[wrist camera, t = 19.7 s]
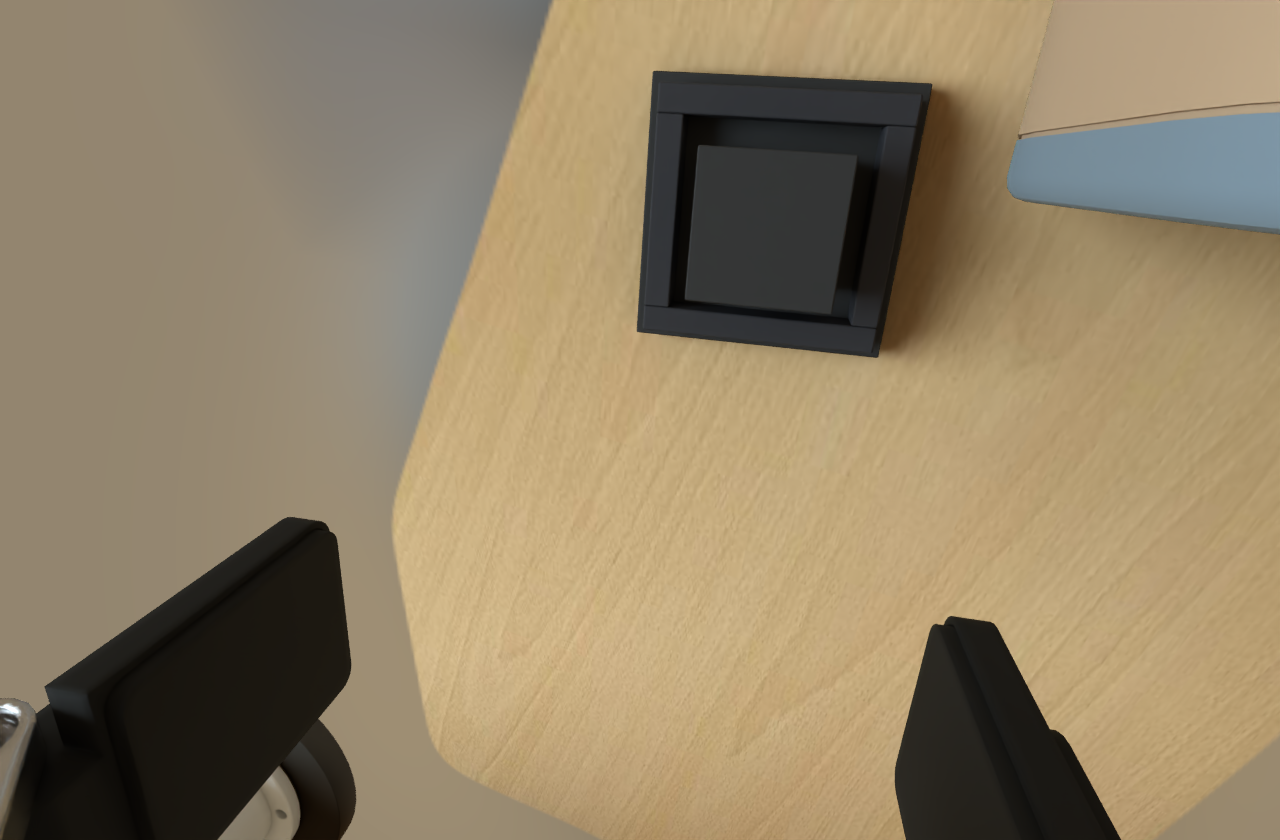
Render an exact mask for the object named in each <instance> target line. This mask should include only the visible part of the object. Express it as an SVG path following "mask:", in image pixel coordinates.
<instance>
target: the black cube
mask: <svg viewBox="0 0 1280 840" xmlns="http://www.w3.org/2000/svg"><path fill="white" fill-rule="evenodd" d="M857 162H858V155H853V154H837V153H821V152H805V151H789V150H773V149H757V148H741V147H725V146H709V145H699V146H698V153H697V164H696V176H695V187H694V199H693V210H692V221H691V233H690V244H689V256H688V267H687V279H686V290H685V300H691V301H701V302H711V303H721V304H731V305H741V306H751V307H762V308H772V309H782V310H792V311H802V312H812V313H822V314H831V313H832V310H833V304H834V298H835V292H836V286H837V280H838V275H839V269H840V263H841V257H842V251H843V245H844V239H845V233H846V227H847V221H848V215H849V210H850V204H851V198H852V192H853V186H854V180H855V174H856V168H857Z"/></svg>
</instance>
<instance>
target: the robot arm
mask: <svg viewBox="0 0 1280 840" xmlns="http://www.w3.org/2000/svg"><path fill="white" fill-rule="evenodd" d="M350 671H351V657H350V648H349V640H348V631H347V622H346V613H345V605H344V596H343V588H342V578H341V569H340V561H339V552H338V543H337V538H336V536H335V534H333V533H332V532H330V531H329V528H328V526H327V525H326V524H325V523H323V522H322V521H315V520H308V519H301V518H295V517H287V518H285V519H283V520H281V521H279V522H278V523H277V524H275V525H274V526H272V527H271V528H270V529H268V530H267V531H265V532H264V533H262V534H261V535H260V536H258V537H257V538H255V539H254V540H253V541H251V542H250V543H248V544H247V545H245V546H244V547H243V548H241V549H240V550H239V551H237V552H235V553H234V554H233V555H231V556H230V557H228V558H227V559H225V560H224V561H223V562H221V563H220V564H218V565H217V566H215V567H214V568H213V569H211V570H210V571H208V572H207V573H206V574H204V575H203V576H201V577H200V578H199V579H197V580H196V581H194V582H193V583H191V584H190V585H189V586H187V587H186V588H184V589H183V590H181V591H180V592H178V593H177V594H176V595H174V596H173V597H171V598H170V599H168V600H167V601H166V602H164V603H163V604H161V605H160V606H159V607H157V608H156V609H154V610H153V611H151V612H150V613H149V614H147V615H146V616H144V617H143V618H142V619H140V620H139V621H137V622H136V623H134V624H133V625H132V626H130V627H129V628H127V629H126V630H124V631H123V632H122V633H120V634H119V635H117V636H116V637H114V638H113V639H112V640H110V641H109V642H107V643H106V644H104V645H103V646H102V647H100V648H99V649H97V650H96V651H94V652H93V653H92V654H90V655H89V656H87V657H86V658H85V659H83V660H82V661H80V662H79V663H77V664H76V665H75V666H73V667H72V668H70V669H69V670H68V671H66V672H65V673H63V674H62V675H61V676H59V677H57V678H56V679H55V680H53V681H52V682H51V683H49V684H48V685H46V686H45V689H46V693H47V696H48V699H49V702H50V704H49V705H47V706H46V707H45V708H43V709H42V710H41V711H39V712H38V713H35V710H34V709H33V708H32V707H31V706H30V705H29V703H27V702H24V701H21V700H18V699H15V698H0V840H291V839H292V838H293V837H294V835H295V834H296V832H297V829H298V827H299V825H300V818H301V810H300V801H299V798H298V795H297V792H296V789H295V787H294V785H293V783H292V781H291V780H290V778H289V776H288V774H287V773H286V772H285V770H284V769H283V768H282V766H281V765H280V764H281V763H282V762H283V760H284V759H285V758H286V757H287V755H288V754H289V753H290V752H291V751H292V749H293V748H294V747H295V746H296V745H297V743H298V742H299V741H300V740H301V739H302V737H303V736H304V735H305V734H306V733H307V731H308V730H309V729H310V728H311V727H312V725H313V724H314V723H315V722H316V721H317V719H318V718H319V717H320V716H321V715H322V713H323V712H324V711H325V709H326V708H327V707H328V706H329V705H330V704H331V702H332V701H333V700H334V699H335V698H336V696H337V695H338V694H339V693H340V692H341V690H342V689H343V688H344V686H345V685H346V683H347V680H348V678H349V675H350ZM895 789H896V795H897V800H898V805H899V809H900V814H901V819H902V823H903V828H904V833H905V837H906V840H1121V839H1120V837H1119V835H1118V833H1117V831H1116V829H1115V828H1114V826H1113V824H1112V822H1111V820H1110V818H1109V816H1108V815H1107V813H1106V811H1105V809H1104V807H1103V805H1102V803H1101V802H1100V800H1099V798H1098V796H1097V794H1096V792H1095V790H1094V789H1093V787H1092V785H1091V783H1090V781H1089V779H1088V778H1087V776H1086V774H1085V772H1084V770H1083V768H1082V766H1081V765H1080V763H1079V761H1078V759H1077V757H1076V755H1075V753H1074V752H1073V750H1072V748H1071V746H1070V745H1069V743H1068V742H1067V740H1066V739H1065V737H1064V736H1063V735H1062V734H1060V733H1059V732H1057V731H1056V730H1050V729H1049V727H1048V725H1047V723H1046V721H1045V719H1044V717H1043V715H1042V713H1041V712H1040V710H1039V708H1038V706H1037V704H1036V702H1035V700H1034V698H1033V696H1032V694H1031V692H1030V690H1029V688H1028V686H1027V684H1026V683H1025V681H1024V679H1023V677H1022V675H1021V673H1020V671H1019V669H1018V667H1017V665H1016V663H1015V661H1014V659H1013V657H1012V656H1011V654H1010V652H1009V650H1008V648H1007V646H1006V644H1005V642H1004V640H1003V638H1002V636H1001V634H1000V632H999V630H998V629H997V627H996V626H995V624H994V623H991V622H987V621H980V620H974V619H967V618H961V617H954V616H950V617H948V618H947V620H946V621H945V623H944V625H938V624H934V625H933V626H932V628H931V630H930V633H929V637H928V641H927V645H926V648H925V652H924V656H923V660H922V664H921V668H920V672H919V676H918V680H917V684H916V688H915V691H914V695H913V699H912V703H911V707H910V711H909V715H908V719H907V723H906V727H905V731H904V734H903V738H902V742H901V746H900V750H899V754H898V758H897V762H896V767H895Z"/></svg>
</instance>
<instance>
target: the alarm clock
mask: <svg viewBox="0 0 1280 840" xmlns="http://www.w3.org/2000/svg"><path fill="white" fill-rule="evenodd" d="M1018 137H1019V139H1021V140H1017V141H1016V145H1015V149H1014V152H1013V156H1012V160H1011V164H1010V167H1009V171H1008V175H1007V189H1008V190H1009V191H1010V193H1011V194H1012V196H1013V197H1014V198H1017V199H1020V200H1022V201H1025V202H1032V203H1039V204H1046V205H1054V206H1061V207H1069V208H1077V209H1084V210H1092V211H1099V212H1107V213H1114V214H1122V215H1129V216H1137V217H1144V218H1152V219H1159V220H1167V221H1174V222H1182V223H1190V224H1198V225H1206V226H1214V227H1222V228H1230V229H1238V230H1246V231H1255V232H1264V233H1272V234H1280V0H1054V2H1053V6H1052V10H1051V13H1050V17H1049V21H1048V25H1047V28H1046V32H1045V36H1044V40H1043V43H1042V47H1041V51H1040V55H1039V58H1038V62H1037V66H1036V70H1035V74H1034V77H1033V81H1032V85H1031V89H1030V92H1029V96H1028V100H1027V104H1026V107H1025V111H1024V115H1023V119H1022V122H1021V126H1020V130H1019V134H1018Z"/></svg>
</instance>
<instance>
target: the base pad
mask: <svg viewBox="0 0 1280 840" xmlns="http://www.w3.org/2000/svg"><path fill="white" fill-rule="evenodd" d="M931 90H932V84H929V83H908V82H886V81H864V80H842V79H820V78H799V77H777V76H755V75H733V74H711V73H690V72H668V71H653V79H652V95H651V111H650V128H649V144H648V160H647V176H646V192H645V208H644V224H643V240H642V257H641V273H640V289H639V305H638V321H637V332H643V333H652V334H661V335H670V336H680V337H689V338H698V339H708V340H717V341H726V342H736V343H745V344H754V345H764V346H773V347H782V348H791V349H801V350H810V351H819V352H829V353H838V354H847V355H857V356H866V357H875V358H877V357H878V355H879V350H880V345H881V340H882V335H883V330H884V325H885V320H886V315H887V310H888V305H889V300H890V295H891V290H892V285H893V280H894V275H895V270H896V265H897V260H898V255H899V250H900V245H901V240H902V235H903V230H904V225H905V220H906V215H907V210H908V205H909V200H910V195H911V190H912V185H913V180H914V175H915V170H916V165H917V160H918V155H919V150H920V145H921V140H922V135H923V130H924V125H925V120H926V115H927V110H928V105H929V100H930V95H931ZM699 145H709V146H725V147H741V148H757V149H773V150H789V151H805V152H821V153H837V154H853V155H858V162H857V168H856V174H855V180H854V186H853V192H852V198H851V204H850V210H849V215H848V221H847V227H846V233H845V239H844V245H843V251H842V257H841V263H840V269H839V275H838V280H837V286H836V292H835V298H834V304H833V310H832V313H831V314H822V313H812V312H802V311H792V310H782V309H772V308H762V307H751V306H741V305H731V304H721V303H711V302H701V301H691V300H685V290H686V279H687V267H688V256H689V244H690V233H691V221H692V210H693V199H694V187H695V176H696V164H697V153H698V146H699Z"/></svg>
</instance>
